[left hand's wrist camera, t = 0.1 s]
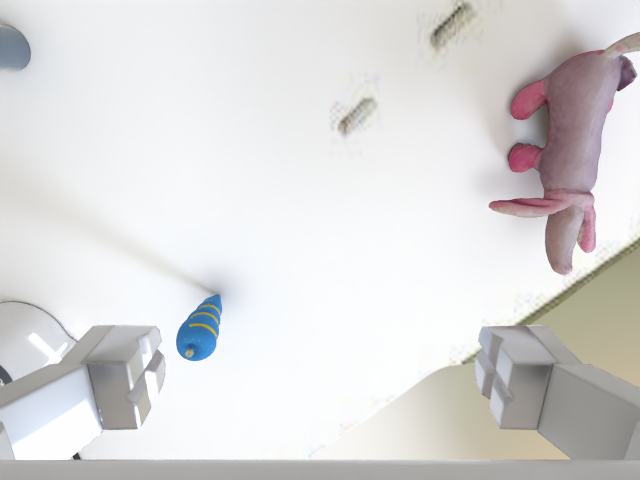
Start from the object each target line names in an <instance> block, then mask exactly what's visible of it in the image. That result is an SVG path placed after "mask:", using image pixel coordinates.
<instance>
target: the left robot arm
mask: <svg viewBox="0 0 640 480" xmlns="http://www.w3.org/2000/svg"><path fill="white" fill-rule="evenodd" d="M161 341H162V340H161V335H160V330H159V329H158V328H157V327H156V326H128V325H117V326H116V325H97V326H93V327H92V328H91V329H90V330H89V331H88V332H87V333H86V334H85V335H84V336H83V337H82V338H81V339H80V340H79V341H78V342H77V343H76V344H75V345H74V347H73V348H72V349H71V350H70V351H69V352H68V353H67V354H66V355H65V356H64V357H63V358H62V359H61V360H60V361H59V362H58V363H57V364H49V365H47V366H45V367H43V368H40V369H38V370H36V371H34V372H32V373H30V374H28V375H25V376H23V377H21V378H19V379H17V380H15V381H12V382H10V383H8V384H6V385H4V386H2V387H0V480H640V387H638V386H636V385H634V384H632V383H629V382H627V381H625V380H623V379H621V378H619V377H617V376H615V375H612V374H610V373H608V372H606V371H604V370H602V369H599V368H597V367H595V366H593V365H591V364H583V363H582V362H581V361H580V360H579V359H578V358H577V357H576V356H575V355H574V354H573V353H572V352H571V351H570V350H569V349H568V348H567V346H566V345H565V344H564V343H563V342H562V341H561V340H560V339H559V338H558V337H557V336H556V335H555V334H554V333H553V332H552V331H551V330H550V329H549V328H548V327H547V326H544V325H525V326H492V327H482V329H481V331H480V335H479V340H478V341H479V343H480V345H481V346H482V348H483V349H482V350H481V351H480V352H479V353H478V355H477V356H476V360H475V377H476V382H477V385H478V387H479V390H480V391H481V394H482V395H484V396H485V397H487V398H488V399H490V404H489V409H490V411H491V413H492V415H493V416H494V418H495V420H496V422H497V424H498V426H499V428H500V429H516V430H538V431H537V432H538V433H539V434H541V435H542V436H543V437H545V438H546V439H547V440H548V441H549V442H551V443H552V444H553V445H554V446H556V447H557V448H558V449H559V450H561V451H562V452H563V453H564V454H566V455H567V456H568V457H569V458H571V459H572V460H68V459H70V458H71V457H72V456H73V455H75V454H76V453H77V452H78V451H80V450H81V449H82V448H83V447H85V446H86V445H87V444H88V443H90V442H91V441H92V440H93V439H94V438H96V437H97V436H98V435H99V434H101V433H102V432H103V431H102V430H124V429H140V428H141V426H142V424H143V422H144V420H145V418H146V416H147V415H148V413H149V411H150V409H151V404H150V399H152V398H153V397H155V396H156V395H158V394H159V392H160V390H161V388H162V385H163V381H164V377H165V359H164V356H163V355H162V354H161V352H160V351H159V350H158V349H157V348H158V346H159V345H160V343H161Z"/></svg>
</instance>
